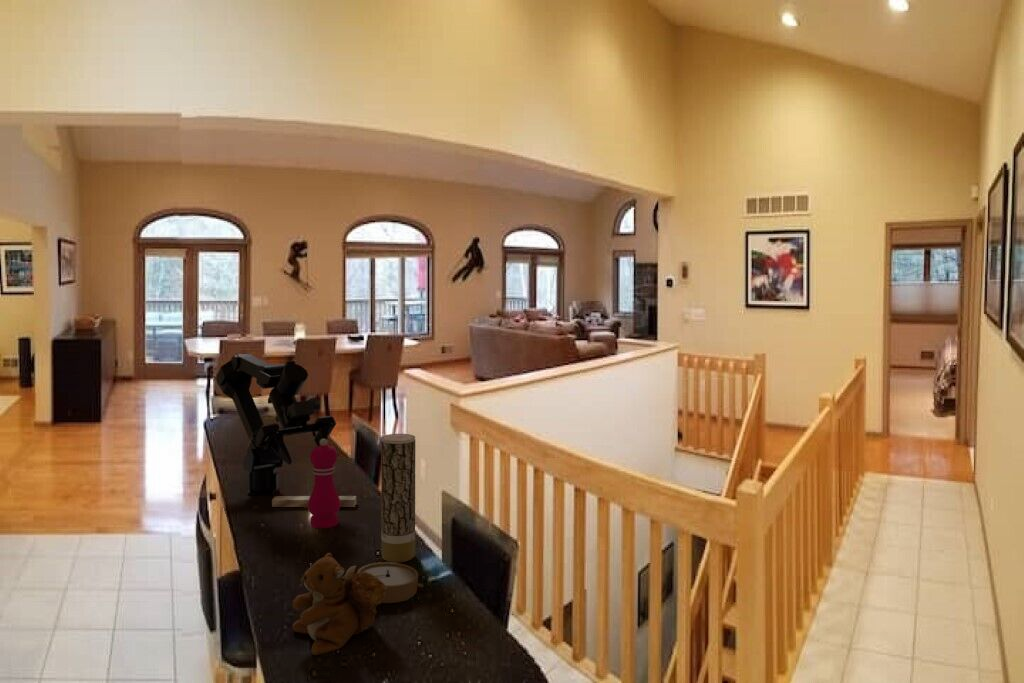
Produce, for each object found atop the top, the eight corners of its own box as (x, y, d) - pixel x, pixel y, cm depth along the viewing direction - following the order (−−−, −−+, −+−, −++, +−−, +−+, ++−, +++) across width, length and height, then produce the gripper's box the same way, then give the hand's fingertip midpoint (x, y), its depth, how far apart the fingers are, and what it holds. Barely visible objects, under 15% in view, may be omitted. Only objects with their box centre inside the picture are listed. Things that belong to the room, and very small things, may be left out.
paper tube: (387, 566, 141) (387, 442, 139) (377, 554, 147) (376, 435, 145) (419, 560, 144) (420, 439, 142) (408, 549, 150) (408, 432, 148)
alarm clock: (429, 581, 128) (348, 583, 121) (424, 608, 128) (343, 612, 121) (407, 559, 138) (331, 559, 131) (402, 584, 138) (326, 586, 131)
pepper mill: (301, 526, 163) (300, 440, 161) (321, 516, 169) (320, 434, 167) (327, 531, 160) (326, 443, 158) (346, 521, 166) (346, 437, 165)
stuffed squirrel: (288, 630, 115) (286, 552, 114) (372, 612, 122) (372, 537, 121) (301, 660, 107) (300, 575, 105) (391, 638, 113) (391, 558, 112)
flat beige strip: (272, 507, 175) (272, 500, 175) (275, 504, 178) (275, 496, 178) (354, 507, 176) (354, 499, 176) (356, 503, 179) (356, 496, 179)
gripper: (259, 391, 165) (282, 447, 158) (332, 383, 178) (355, 435, 171) (246, 419, 171) (266, 474, 164) (317, 410, 184) (339, 460, 177)
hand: (308, 460), depth 169 cm, fingers open, 9 cm apart
